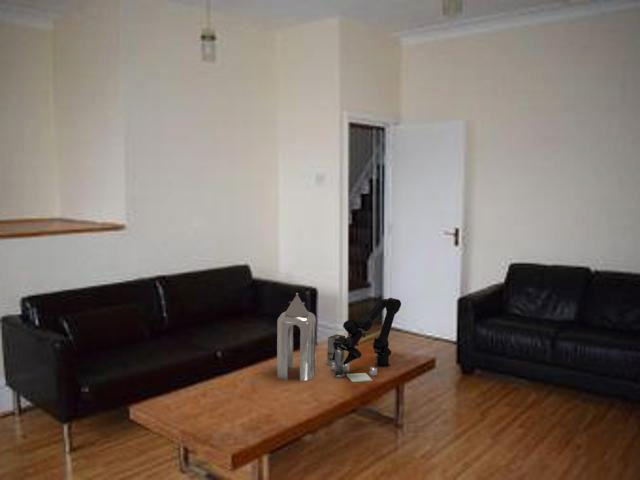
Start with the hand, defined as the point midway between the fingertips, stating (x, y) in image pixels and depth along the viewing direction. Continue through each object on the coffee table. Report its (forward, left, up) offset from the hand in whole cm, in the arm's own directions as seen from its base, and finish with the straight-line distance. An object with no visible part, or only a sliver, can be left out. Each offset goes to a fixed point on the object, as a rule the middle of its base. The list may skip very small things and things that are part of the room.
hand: (338, 362), depth 312 cm
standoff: (0, 0, -8) cm, 8 cm away
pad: (-10, +5, -8) cm, 14 cm away
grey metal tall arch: (+22, -8, -8) cm, 24 cm away
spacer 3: (-19, +2, -8) cm, 21 cm away
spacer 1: (-1, -11, -8) cm, 14 cm away
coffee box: (-4, -21, -8) cm, 23 cm away
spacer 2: (-6, -7, -8) cm, 13 cm away
